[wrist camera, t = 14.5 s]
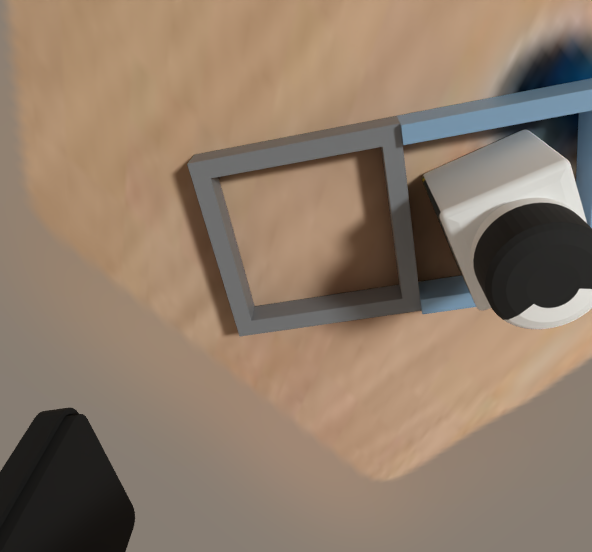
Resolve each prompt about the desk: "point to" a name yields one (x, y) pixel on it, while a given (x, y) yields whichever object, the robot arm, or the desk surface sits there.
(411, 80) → the desk surface
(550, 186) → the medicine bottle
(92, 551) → the robot arm
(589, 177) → the frame
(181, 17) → the desk surface
